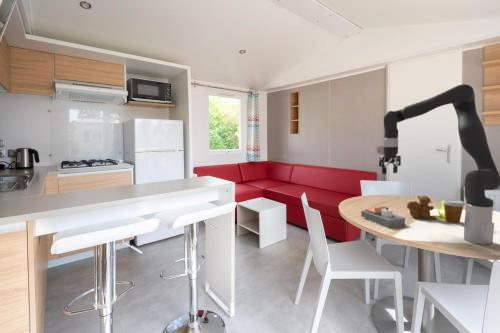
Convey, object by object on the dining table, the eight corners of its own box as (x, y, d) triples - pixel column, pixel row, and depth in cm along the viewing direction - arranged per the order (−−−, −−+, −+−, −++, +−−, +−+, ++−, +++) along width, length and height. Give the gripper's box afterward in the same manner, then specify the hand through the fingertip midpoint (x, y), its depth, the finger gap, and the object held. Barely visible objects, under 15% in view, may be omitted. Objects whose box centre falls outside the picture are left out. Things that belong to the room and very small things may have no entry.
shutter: (385, 212, 149) (385, 206, 149) (375, 213, 147) (376, 207, 147) (373, 208, 157) (374, 203, 157) (365, 210, 155) (365, 204, 155)
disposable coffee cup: (451, 218, 149) (452, 198, 148) (467, 223, 139) (469, 202, 138) (437, 219, 147) (438, 199, 146) (453, 225, 138) (454, 203, 137)
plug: (386, 220, 147) (386, 206, 146) (392, 222, 143) (392, 208, 142) (380, 220, 146) (381, 207, 145) (386, 223, 142) (387, 208, 141)
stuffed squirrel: (437, 219, 147) (439, 197, 146) (413, 220, 147) (414, 198, 146) (426, 214, 157) (427, 194, 156) (403, 215, 157) (404, 194, 156)
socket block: (404, 224, 140) (405, 217, 139) (388, 227, 136) (388, 220, 136) (376, 214, 159) (376, 208, 158) (361, 217, 155) (361, 210, 155)
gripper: (394, 145, 152) (393, 172, 153) (376, 146, 147) (375, 173, 149) (405, 145, 145) (404, 173, 146) (387, 146, 140) (385, 175, 142)
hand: (389, 173), depth 148 cm, fingers open, 8 cm apart
